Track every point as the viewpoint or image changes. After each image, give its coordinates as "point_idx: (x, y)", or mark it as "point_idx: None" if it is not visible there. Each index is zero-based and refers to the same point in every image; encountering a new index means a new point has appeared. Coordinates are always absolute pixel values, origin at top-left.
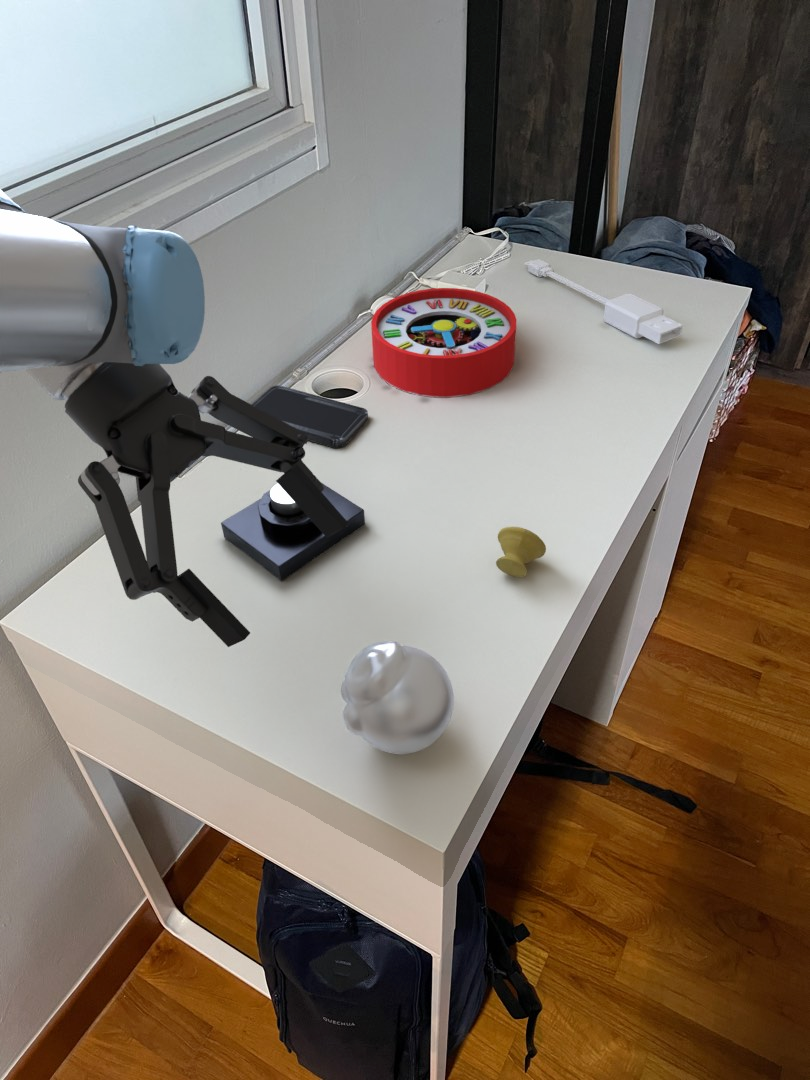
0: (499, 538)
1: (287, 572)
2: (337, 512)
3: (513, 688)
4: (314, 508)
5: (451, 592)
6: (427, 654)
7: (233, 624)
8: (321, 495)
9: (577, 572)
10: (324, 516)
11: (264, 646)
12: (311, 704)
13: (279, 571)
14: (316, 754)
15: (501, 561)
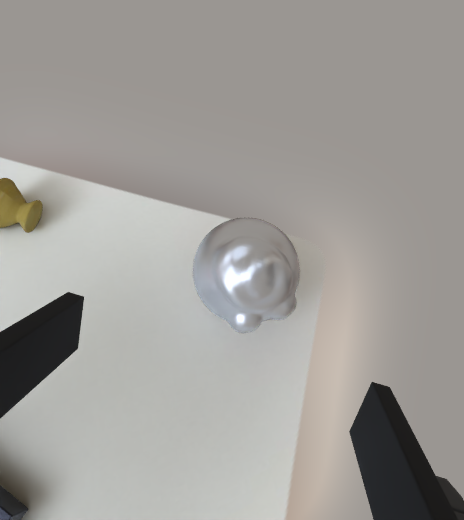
0: None
1: (14, 502)
2: (52, 304)
3: (179, 213)
4: (38, 353)
5: (59, 277)
6: (214, 233)
7: (396, 408)
8: (17, 327)
9: (35, 175)
10: (57, 333)
11: (157, 483)
12: (231, 387)
13: (17, 514)
14: (286, 362)
15: (27, 220)
